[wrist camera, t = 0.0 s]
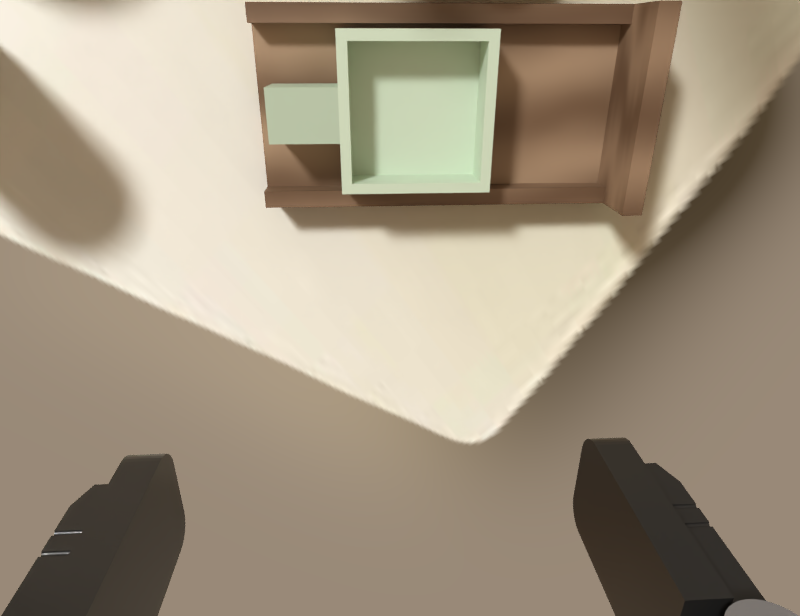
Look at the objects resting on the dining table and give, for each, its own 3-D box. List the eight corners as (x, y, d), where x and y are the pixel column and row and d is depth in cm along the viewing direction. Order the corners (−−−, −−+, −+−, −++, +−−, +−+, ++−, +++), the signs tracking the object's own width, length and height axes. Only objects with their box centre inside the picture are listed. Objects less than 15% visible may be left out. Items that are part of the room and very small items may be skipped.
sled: (267, 29, 32) (258, 27, 29) (488, 29, 33) (500, 28, 30) (280, 182, 36) (273, 195, 33) (479, 180, 37) (489, 192, 34)
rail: (253, 4, 33) (233, -2, 28) (636, 6, 34) (684, 0, 29) (272, 197, 38) (258, 221, 33) (606, 192, 39) (643, 215, 34)
